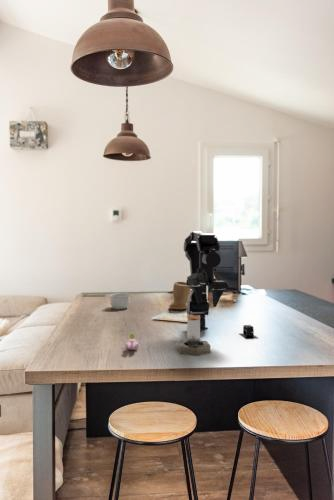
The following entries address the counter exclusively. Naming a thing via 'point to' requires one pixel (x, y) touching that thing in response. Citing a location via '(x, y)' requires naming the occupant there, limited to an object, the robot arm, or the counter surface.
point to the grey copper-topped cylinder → (193, 329)
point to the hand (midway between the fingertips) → (206, 305)
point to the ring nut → (193, 348)
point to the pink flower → (132, 343)
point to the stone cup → (180, 295)
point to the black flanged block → (248, 332)
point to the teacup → (120, 300)
